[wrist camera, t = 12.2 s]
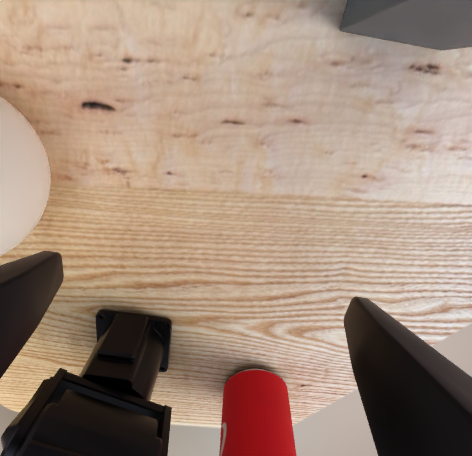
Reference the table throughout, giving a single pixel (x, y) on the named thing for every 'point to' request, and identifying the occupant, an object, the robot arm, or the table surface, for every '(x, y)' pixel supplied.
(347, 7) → the tissue box
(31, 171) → the ornament
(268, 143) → the table surface
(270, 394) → the beverage can
